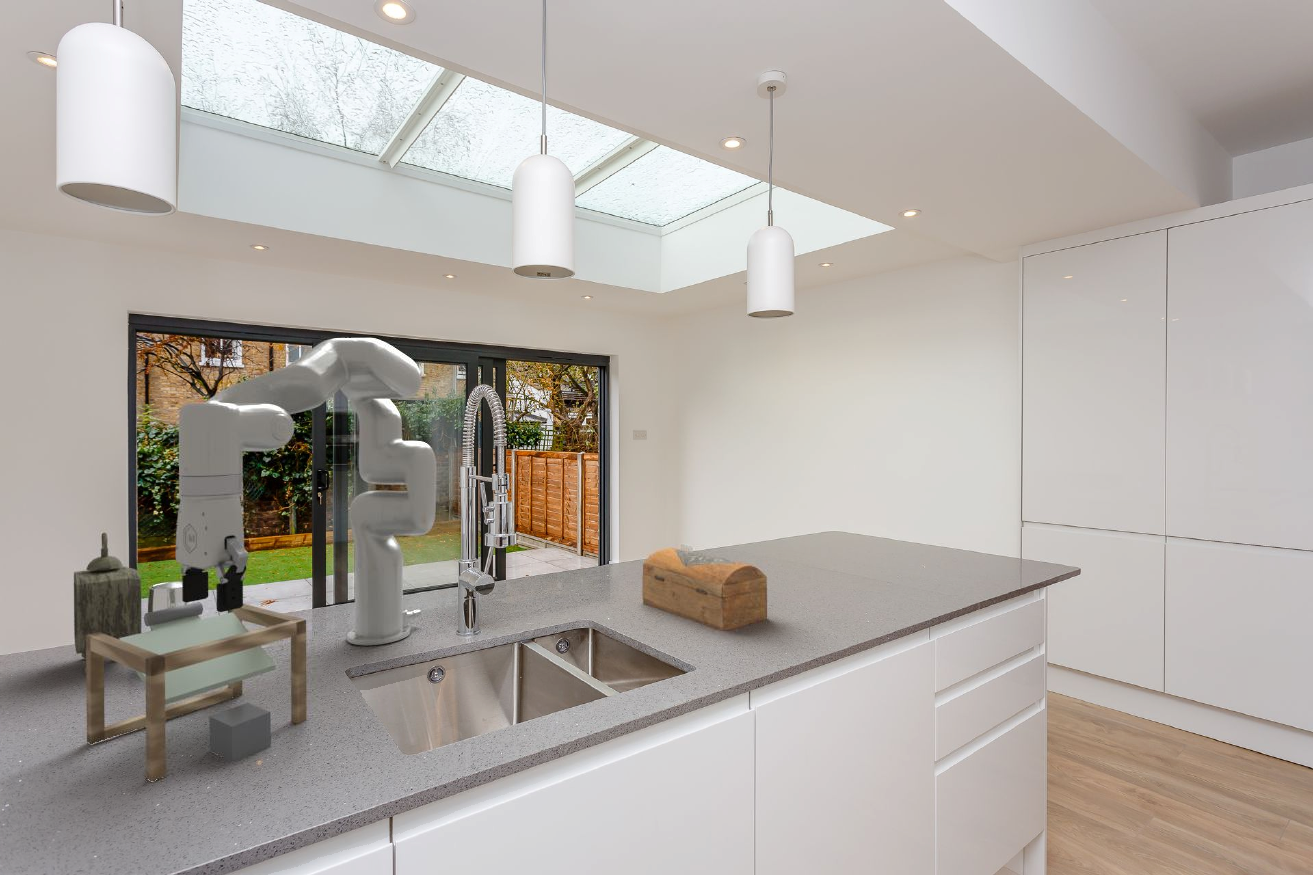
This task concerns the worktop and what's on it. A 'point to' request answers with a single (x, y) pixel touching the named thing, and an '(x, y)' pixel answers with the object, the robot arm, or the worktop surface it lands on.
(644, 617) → the worktop surface
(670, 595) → the wooden box
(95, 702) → the frame
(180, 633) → the trapdoor
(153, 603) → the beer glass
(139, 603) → the tabletop clock
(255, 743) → the stone
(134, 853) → the worktop surface
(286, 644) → the worktop surface
